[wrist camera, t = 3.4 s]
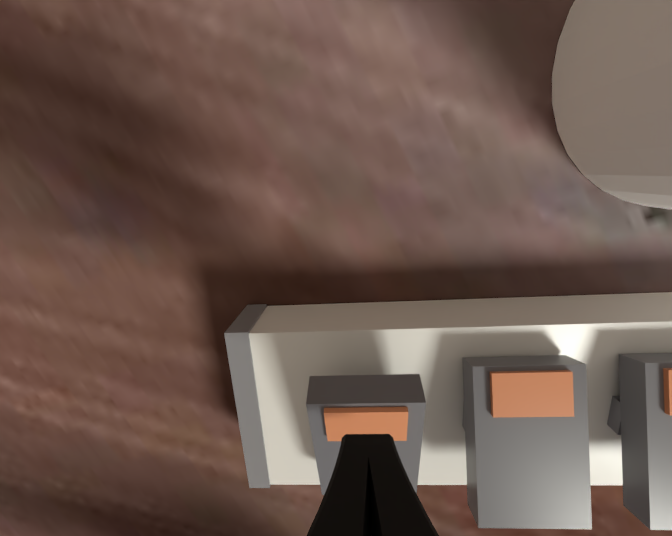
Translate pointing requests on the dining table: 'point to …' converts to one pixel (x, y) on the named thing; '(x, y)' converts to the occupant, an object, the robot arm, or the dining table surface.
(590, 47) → the bottle
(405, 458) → the rocker
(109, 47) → the dining table surface
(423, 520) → the robot arm
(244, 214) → the dining table surface
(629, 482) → the block
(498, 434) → the rocker
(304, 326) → the power strip
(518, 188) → the dining table surface
